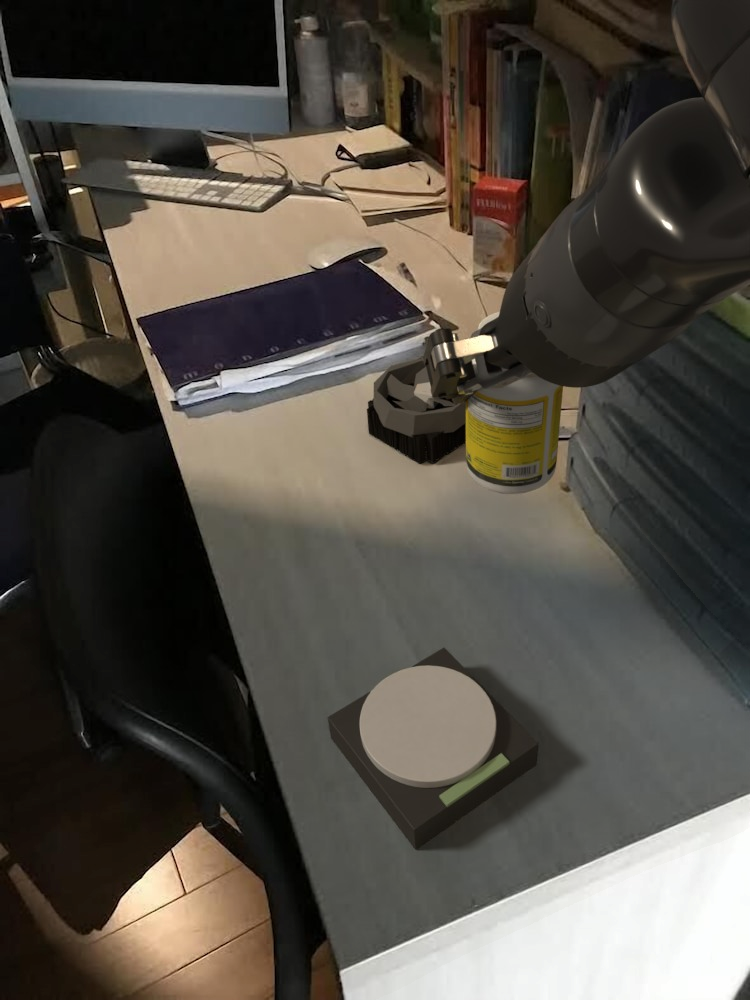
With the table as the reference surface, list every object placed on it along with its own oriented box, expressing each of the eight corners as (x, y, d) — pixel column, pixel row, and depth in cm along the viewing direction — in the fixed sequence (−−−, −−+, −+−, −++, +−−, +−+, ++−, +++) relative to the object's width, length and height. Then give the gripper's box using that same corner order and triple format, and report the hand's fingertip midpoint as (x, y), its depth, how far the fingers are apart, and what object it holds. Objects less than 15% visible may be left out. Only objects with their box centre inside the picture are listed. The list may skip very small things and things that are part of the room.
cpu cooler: (423, 426, 76) (350, 385, 82) (425, 475, 80) (355, 433, 86) (499, 380, 81) (425, 345, 87) (497, 428, 85) (426, 391, 91)
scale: (536, 764, 56) (539, 736, 53) (415, 850, 52) (413, 823, 50) (444, 668, 62) (443, 639, 60) (330, 738, 58) (325, 710, 56)
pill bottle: (508, 432, 61) (515, 293, 54) (574, 470, 57) (590, 325, 50) (446, 468, 58) (445, 326, 51) (511, 510, 55) (518, 362, 48)
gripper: (724, 186, 40) (590, 306, 57) (439, 234, 38) (385, 344, 54) (765, 335, 39) (617, 412, 56) (478, 393, 37) (411, 455, 54)
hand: (503, 378), depth 55 cm, fingers closed on pill bottle, 6 cm apart
